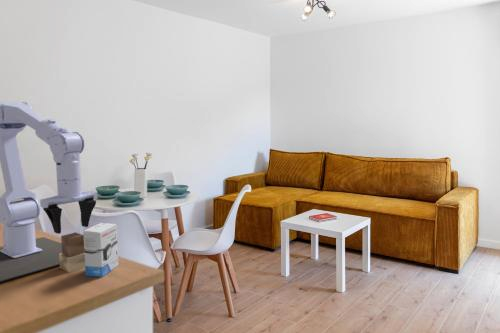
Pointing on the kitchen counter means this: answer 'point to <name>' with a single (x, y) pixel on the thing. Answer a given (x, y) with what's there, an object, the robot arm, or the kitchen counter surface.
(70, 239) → the walnut block
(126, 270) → the kitchen counter surface
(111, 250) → the ink box
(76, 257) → the base block
